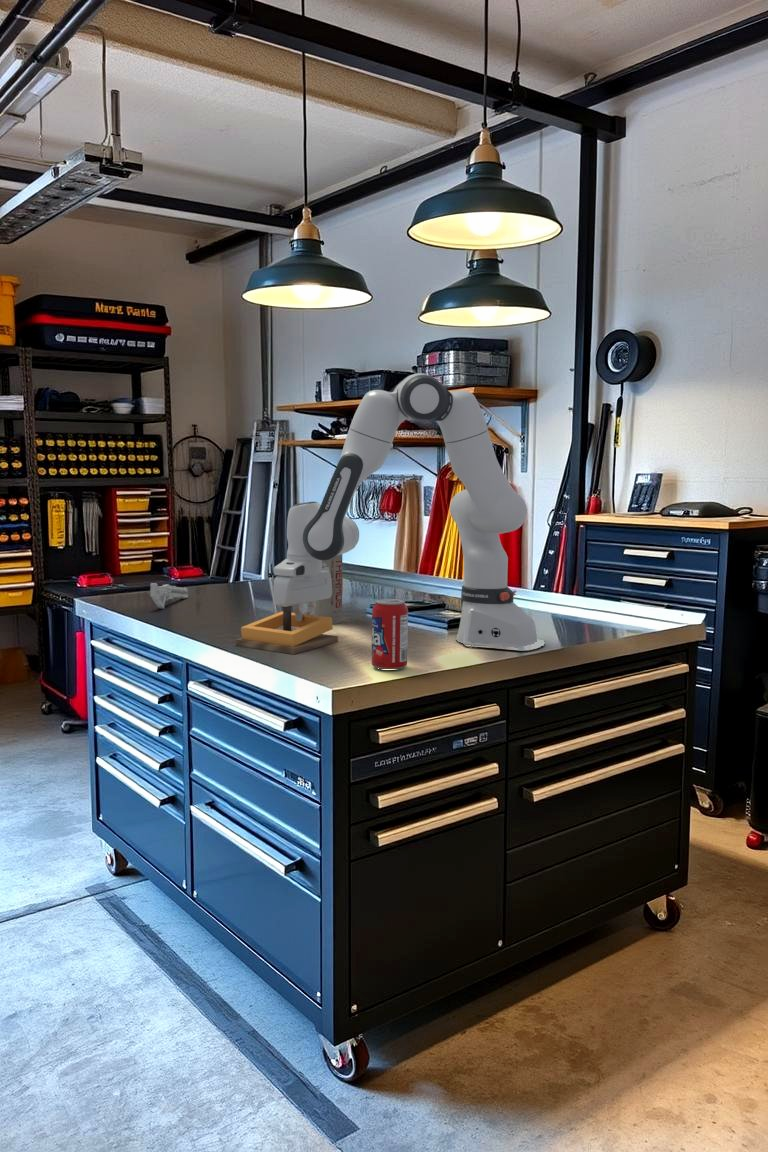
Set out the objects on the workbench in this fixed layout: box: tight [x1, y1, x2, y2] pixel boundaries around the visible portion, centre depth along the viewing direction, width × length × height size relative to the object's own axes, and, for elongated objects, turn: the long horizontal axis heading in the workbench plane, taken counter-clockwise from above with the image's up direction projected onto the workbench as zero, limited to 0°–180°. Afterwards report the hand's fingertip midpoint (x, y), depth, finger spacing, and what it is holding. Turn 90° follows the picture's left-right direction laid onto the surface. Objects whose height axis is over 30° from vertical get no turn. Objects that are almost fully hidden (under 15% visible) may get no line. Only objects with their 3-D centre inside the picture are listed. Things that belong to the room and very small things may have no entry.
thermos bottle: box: [313, 554, 343, 625], centre depth 250 cm, size 8×8×28 cm
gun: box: [149, 582, 189, 610], centre depth 279 cm, size 2×30×8 cm, turn 174°
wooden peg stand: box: [235, 606, 339, 655], centre depth 220 cm, size 18×18×16 cm
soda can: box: [371, 598, 409, 670], centre depth 194 cm, size 8×8×15 cm
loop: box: [240, 610, 333, 647], centre depth 220 cm, size 16×16×3 cm
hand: (304, 619), depth 226 cm, fingers closed on loop, 2 cm apart
